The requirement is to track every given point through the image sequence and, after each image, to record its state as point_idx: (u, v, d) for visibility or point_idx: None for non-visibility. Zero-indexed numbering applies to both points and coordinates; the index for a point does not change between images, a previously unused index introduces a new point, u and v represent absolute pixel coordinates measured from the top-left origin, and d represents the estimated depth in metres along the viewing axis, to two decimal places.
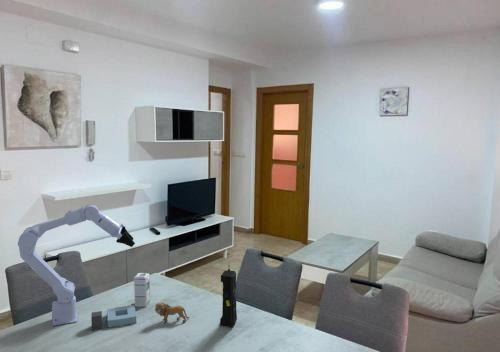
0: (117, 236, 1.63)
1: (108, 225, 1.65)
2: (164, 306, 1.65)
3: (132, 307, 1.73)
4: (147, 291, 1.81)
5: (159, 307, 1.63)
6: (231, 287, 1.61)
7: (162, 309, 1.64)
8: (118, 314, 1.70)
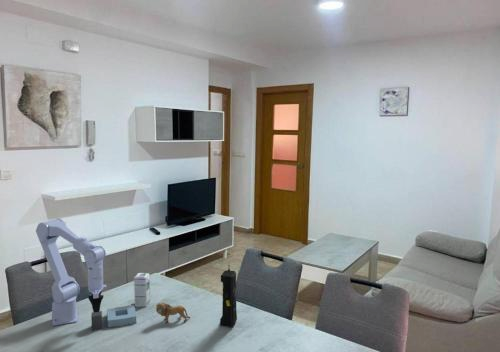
0: (94, 295, 1.52)
1: (96, 278, 1.55)
2: (165, 306, 1.65)
3: (132, 307, 1.73)
4: (147, 291, 1.81)
5: (160, 307, 1.63)
6: (231, 287, 1.61)
7: (163, 309, 1.64)
8: (118, 314, 1.70)
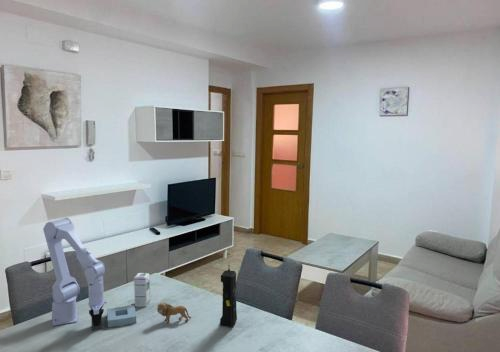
0: (95, 311, 1.53)
1: (96, 294, 1.56)
2: (166, 306, 1.65)
3: (132, 307, 1.73)
4: (147, 291, 1.81)
5: (161, 307, 1.63)
6: (231, 287, 1.61)
7: (164, 309, 1.64)
8: (118, 314, 1.70)
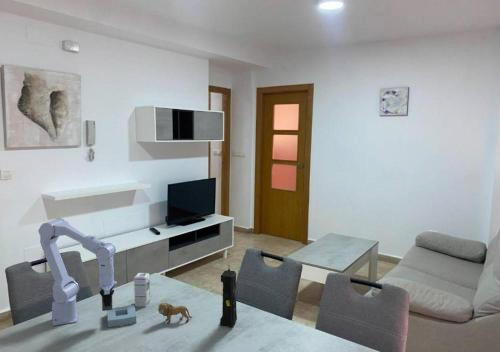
0: (105, 291, 1.55)
1: (107, 274, 1.58)
2: (167, 306, 1.65)
3: (132, 307, 1.73)
4: (147, 291, 1.81)
5: (162, 307, 1.63)
6: (231, 287, 1.61)
7: (165, 309, 1.64)
8: (118, 314, 1.70)
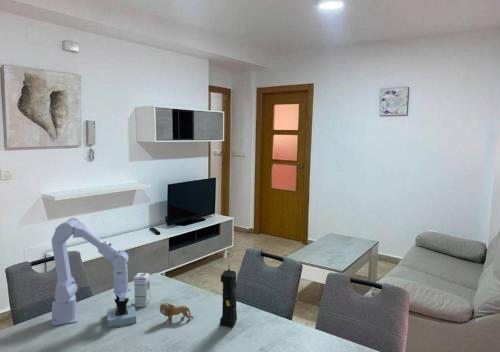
0: (121, 298, 1.60)
1: (122, 282, 1.63)
2: (169, 306, 1.65)
3: (132, 307, 1.73)
4: (147, 291, 1.81)
5: (164, 307, 1.63)
6: (231, 287, 1.61)
7: (167, 309, 1.64)
8: None
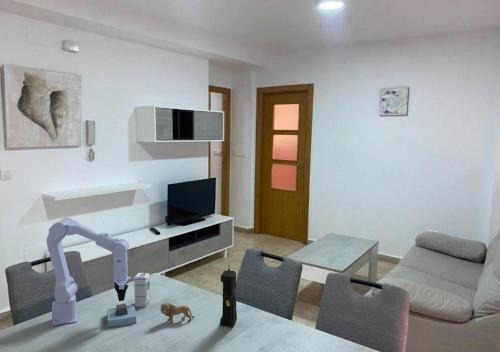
0: (120, 286, 1.59)
1: (121, 270, 1.63)
2: (169, 306, 1.65)
3: (132, 307, 1.73)
4: (147, 291, 1.81)
5: (165, 307, 1.63)
6: (231, 287, 1.61)
7: (168, 309, 1.64)
8: None
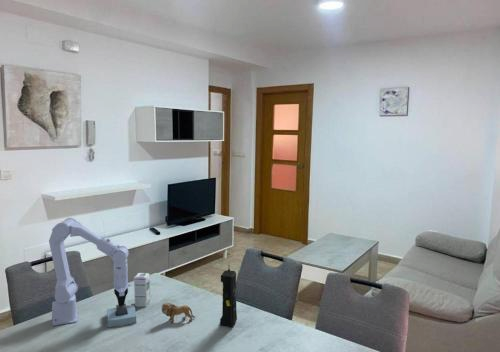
0: (120, 293, 1.59)
1: (121, 277, 1.63)
2: (170, 306, 1.65)
3: (132, 307, 1.73)
4: (147, 291, 1.81)
5: (166, 307, 1.63)
6: (231, 287, 1.61)
7: (169, 309, 1.64)
8: None
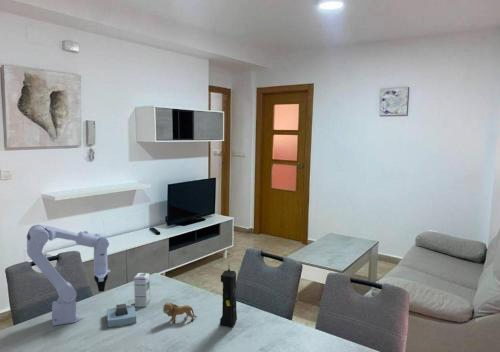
0: (100, 278, 1.66)
1: (101, 263, 1.70)
2: (172, 306, 1.65)
3: (132, 307, 1.73)
4: (147, 291, 1.81)
5: (167, 307, 1.64)
6: (231, 287, 1.61)
7: (170, 309, 1.64)
8: None
